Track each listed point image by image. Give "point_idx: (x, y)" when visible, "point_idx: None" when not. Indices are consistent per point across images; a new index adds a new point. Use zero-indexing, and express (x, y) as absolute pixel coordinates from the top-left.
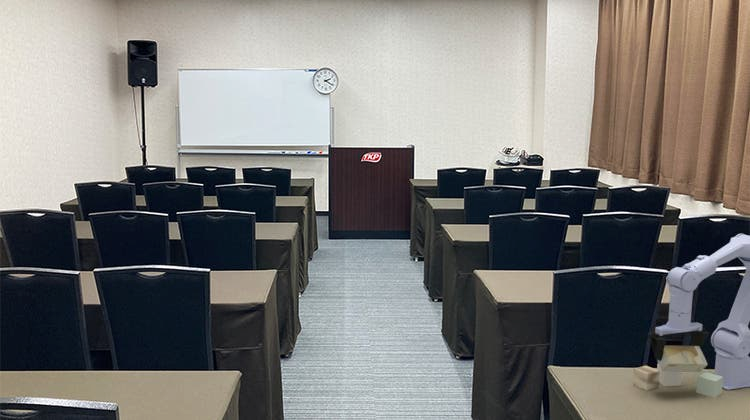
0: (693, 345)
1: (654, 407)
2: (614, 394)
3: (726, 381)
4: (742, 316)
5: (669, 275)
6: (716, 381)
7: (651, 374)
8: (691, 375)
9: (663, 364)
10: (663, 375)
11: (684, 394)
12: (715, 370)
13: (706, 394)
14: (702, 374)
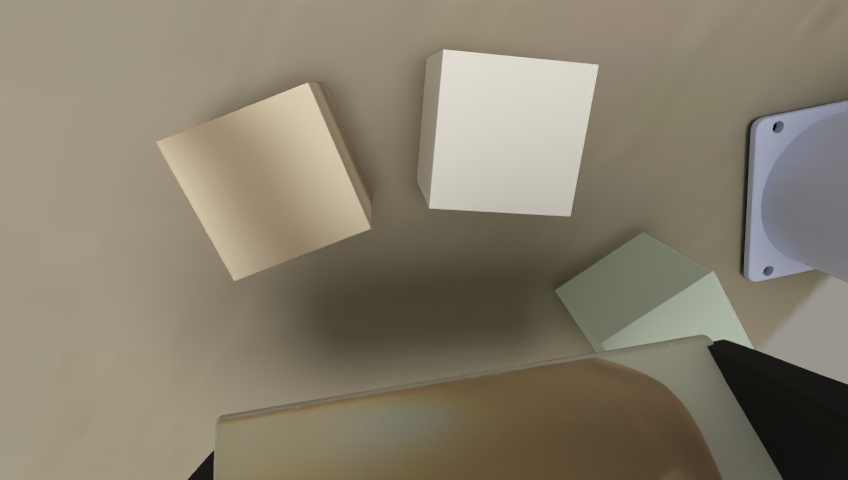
0: (789, 425)
1: None
2: (21, 275)
3: (797, 256)
4: None
5: None
6: None
7: (279, 261)
8: (718, 16)
9: None
10: (425, 175)
11: (471, 307)
12: (838, 180)
13: (584, 333)
14: (656, 316)
